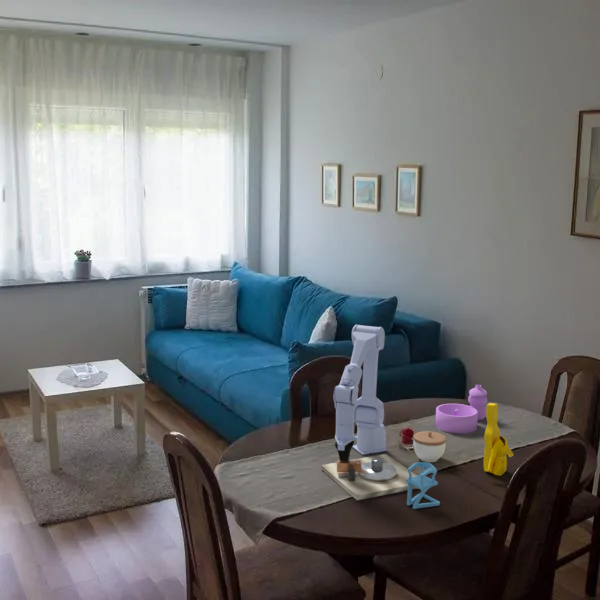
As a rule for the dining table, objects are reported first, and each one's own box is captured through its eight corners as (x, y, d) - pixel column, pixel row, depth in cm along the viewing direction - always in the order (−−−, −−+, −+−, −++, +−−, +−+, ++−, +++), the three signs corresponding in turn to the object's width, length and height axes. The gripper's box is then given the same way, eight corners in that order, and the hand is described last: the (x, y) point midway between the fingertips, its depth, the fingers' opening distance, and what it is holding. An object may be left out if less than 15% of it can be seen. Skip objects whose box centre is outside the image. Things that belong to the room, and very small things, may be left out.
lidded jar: (448, 455, 251) (449, 429, 249) (440, 467, 241) (441, 440, 240) (417, 450, 255) (418, 424, 254) (408, 461, 246) (409, 434, 244)
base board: (385, 458, 249) (386, 445, 248) (426, 486, 227) (426, 472, 226) (321, 469, 239) (321, 456, 238) (357, 500, 217) (357, 485, 216)
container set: (461, 436, 269) (463, 401, 267) (427, 425, 280) (428, 392, 277) (499, 421, 286) (501, 387, 284) (465, 411, 297) (467, 379, 294)
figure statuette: (493, 483, 230) (498, 415, 226) (470, 476, 235) (474, 409, 231) (518, 465, 243) (522, 401, 239) (495, 459, 248) (499, 396, 244)
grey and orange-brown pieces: (393, 465, 238) (394, 453, 237) (398, 481, 226) (399, 468, 225) (336, 464, 238) (336, 452, 237) (337, 480, 226) (337, 467, 226)
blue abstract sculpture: (400, 502, 217) (402, 463, 214) (421, 495, 221) (423, 457, 219) (419, 512, 210) (421, 472, 208) (440, 505, 215) (442, 465, 213)
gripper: (354, 431, 224) (353, 474, 226) (361, 415, 238) (360, 456, 240) (331, 429, 225) (330, 472, 228) (339, 414, 239) (338, 454, 242)
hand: (344, 463), depth 234 cm, fingers closed
